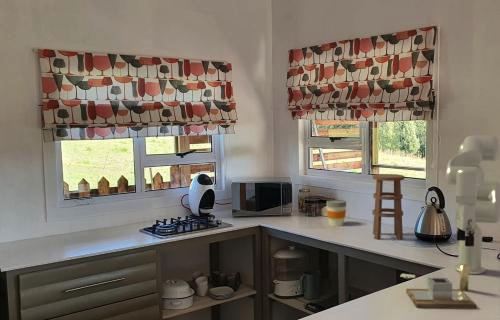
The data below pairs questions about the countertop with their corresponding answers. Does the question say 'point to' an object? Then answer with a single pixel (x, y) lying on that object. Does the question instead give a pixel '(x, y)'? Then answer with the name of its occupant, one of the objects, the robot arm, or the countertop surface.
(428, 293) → the grey stepped block
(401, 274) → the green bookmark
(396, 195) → the stool
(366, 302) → the countertop surface
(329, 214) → the reusable coffee cup
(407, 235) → the countertop surface
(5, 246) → the countertop surface
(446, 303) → the walnut board
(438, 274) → the countertop surface
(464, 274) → the hinge pin
